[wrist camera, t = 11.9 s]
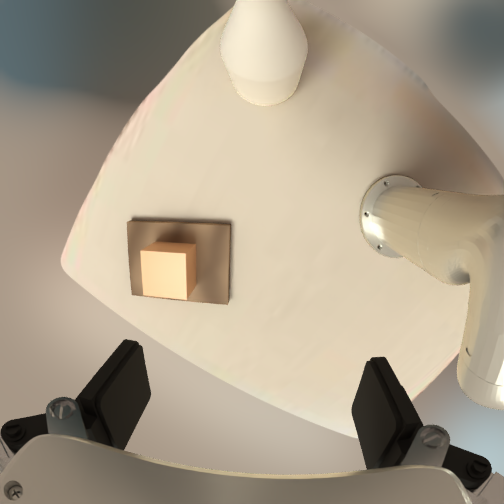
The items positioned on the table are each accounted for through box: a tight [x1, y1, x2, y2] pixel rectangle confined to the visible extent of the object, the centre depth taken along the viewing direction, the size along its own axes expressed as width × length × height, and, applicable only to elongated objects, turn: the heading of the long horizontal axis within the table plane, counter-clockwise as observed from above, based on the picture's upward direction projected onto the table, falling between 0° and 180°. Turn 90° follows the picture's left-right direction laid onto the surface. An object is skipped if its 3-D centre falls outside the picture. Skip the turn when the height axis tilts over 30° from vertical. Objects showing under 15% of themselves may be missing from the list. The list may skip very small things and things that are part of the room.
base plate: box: [127, 221, 231, 305], centre depth 41 cm, size 16×12×5 cm
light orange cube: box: [140, 242, 196, 300], centre depth 40 cm, size 6×6×6 cm
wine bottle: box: [220, 0, 308, 106], centre depth 22 cm, size 10×10×30 cm
